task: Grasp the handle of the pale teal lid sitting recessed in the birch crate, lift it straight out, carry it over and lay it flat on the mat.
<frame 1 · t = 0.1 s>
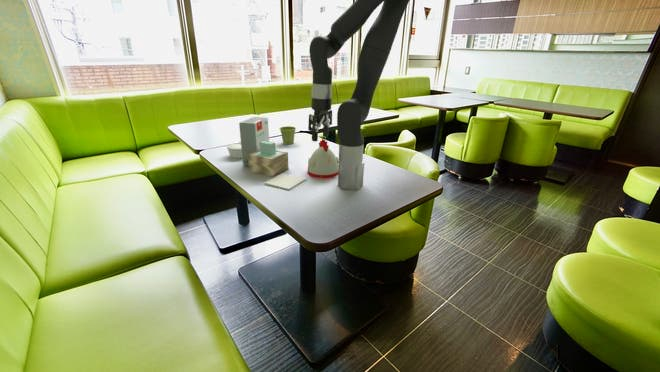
hand: (320, 138, 118), 17 cm above the table, tool pointing down, fingers open, 8 cm apart
hard drive box: (257, 161, 144), on the table
ramekin: (240, 156, 152), on the table
lid: (268, 155, 130), point 7 cm above the table, touching crate
crate: (269, 170, 133), on the table
plant pot: (288, 143, 174), on the table
kitchen timer: (323, 173, 132), on the table
mat: (285, 181, 121), on the table
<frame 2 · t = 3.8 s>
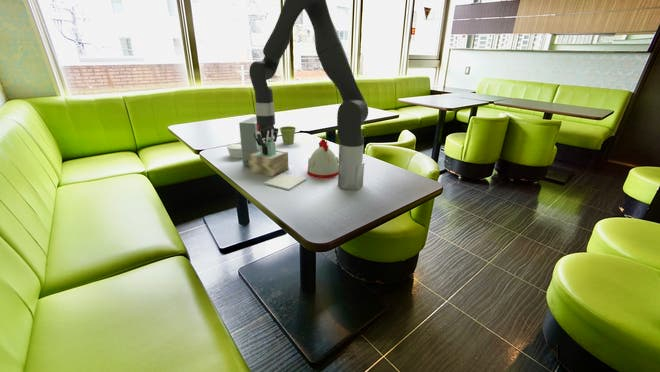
hand: (268, 153, 130), 8 cm above the table, tool pointing down, fingers closed on lid, 3 cm apart
lid: (268, 155, 130), point 7 cm above the table, touching crate, gripper
everything else where it was.
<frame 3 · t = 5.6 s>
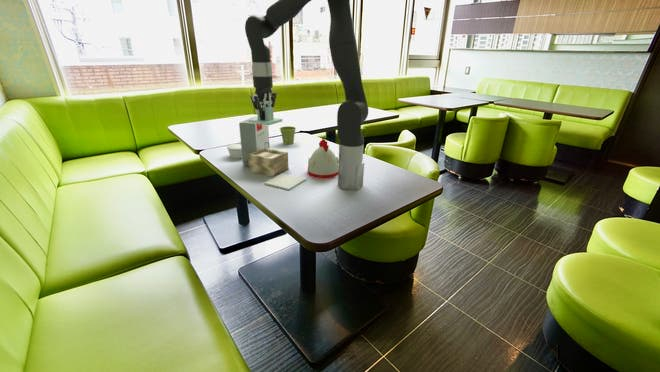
hand: (265, 119, 124), 23 cm above the table, tool pointing down, fingers closed on lid, 3 cm apart
lid: (265, 121, 124), point 22 cm above the table, touching gripper
everything else where it was.
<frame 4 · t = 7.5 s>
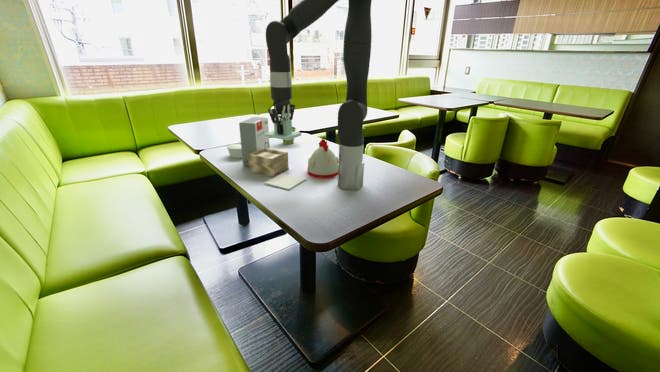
hand: (283, 132, 113), 20 cm above the table, tool pointing down, fingers closed on lid, 3 cm apart
lid: (283, 135, 114), point 19 cm above the table, touching gripper
everything else where it was.
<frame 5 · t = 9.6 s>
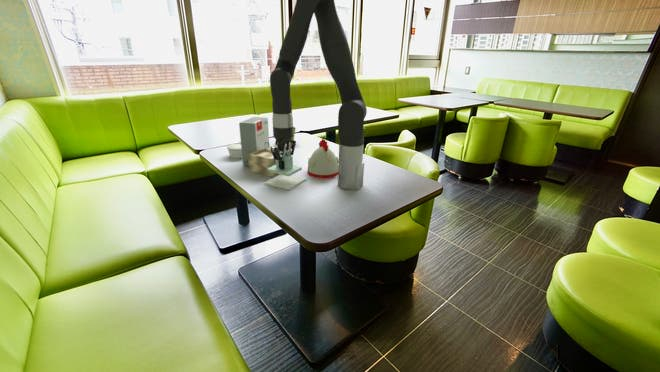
hand: (284, 167, 119), 6 cm above the table, tool pointing down, fingers closed on lid, 3 cm apart
lid: (284, 170, 119), point 5 cm above the table, touching gripper
everything else where it was.
when the fingers open (3 cm above the table, at t = 11.1 s): lid drops 1 cm, resting on mat.
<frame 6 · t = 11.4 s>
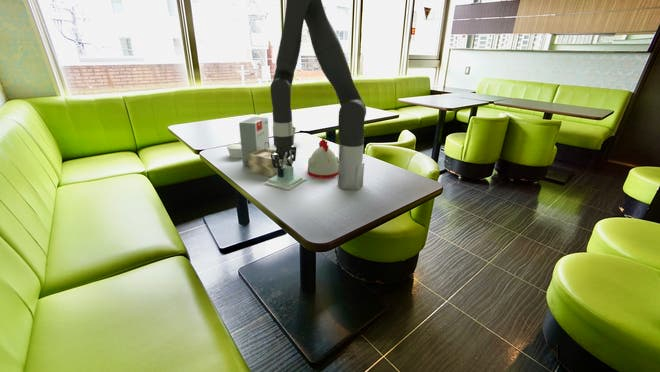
hand: (285, 174, 120), 3 cm above the table, tool pointing down, fingers open, 5 cm apart
lid: (285, 180, 121), point 1 cm above the table, touching mat
everything else where it was.
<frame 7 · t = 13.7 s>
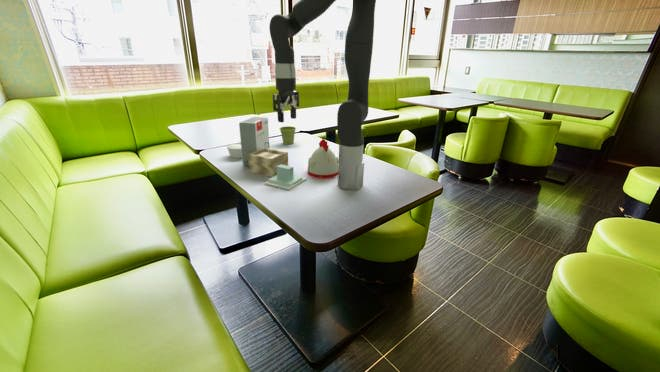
hand: (287, 120, 118), 24 cm above the table, tool pointing down, fingers open, 8 cm apart
nothing on the table moved.
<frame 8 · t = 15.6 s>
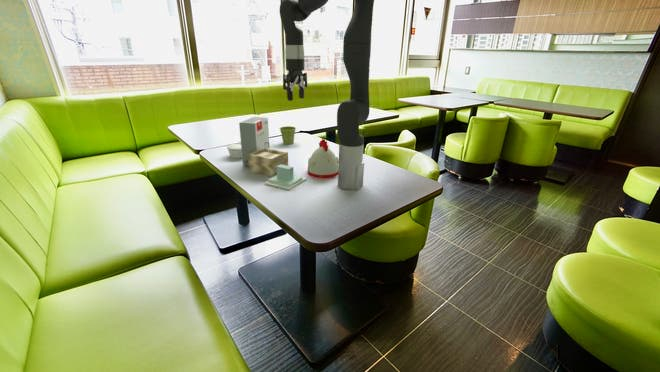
hand: (296, 99, 126), 30 cm above the table, tool pointing down, fingers open, 8 cm apart
nothing on the table moved.
at the end: lid inside the target area on the mat (0.0 cm from its centre), point 0.6 cm above the mat's base; lid tilted 0°; lid touching mat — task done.
